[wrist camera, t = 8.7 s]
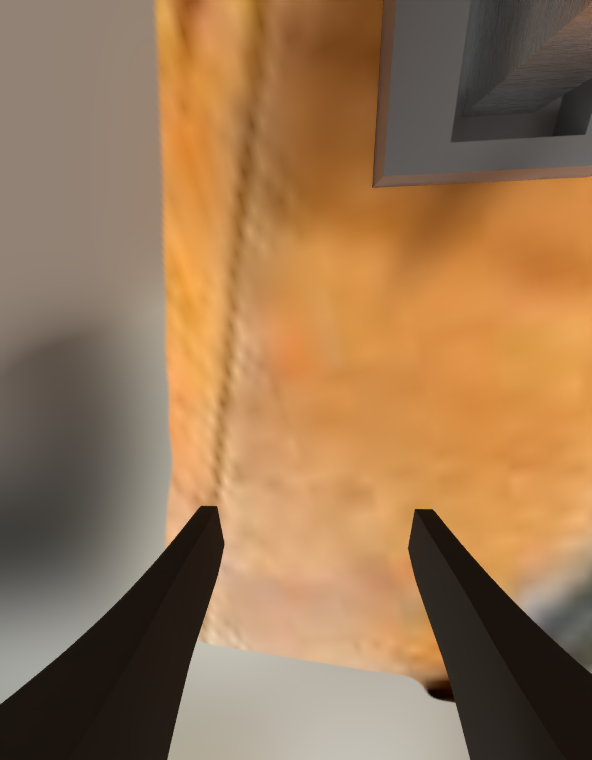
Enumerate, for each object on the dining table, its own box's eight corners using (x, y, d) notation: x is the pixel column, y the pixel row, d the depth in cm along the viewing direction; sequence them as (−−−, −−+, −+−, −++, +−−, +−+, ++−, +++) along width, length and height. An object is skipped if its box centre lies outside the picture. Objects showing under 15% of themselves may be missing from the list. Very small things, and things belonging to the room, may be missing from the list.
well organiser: (700, -185, 10) (819, -317, 7) (589, 176, 14) (643, 162, 12) (392, -149, 10) (415, -261, 8) (372, 187, 14) (383, 176, 12)
